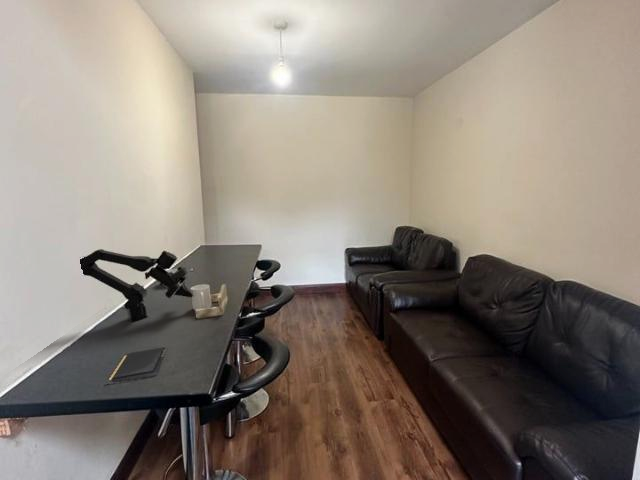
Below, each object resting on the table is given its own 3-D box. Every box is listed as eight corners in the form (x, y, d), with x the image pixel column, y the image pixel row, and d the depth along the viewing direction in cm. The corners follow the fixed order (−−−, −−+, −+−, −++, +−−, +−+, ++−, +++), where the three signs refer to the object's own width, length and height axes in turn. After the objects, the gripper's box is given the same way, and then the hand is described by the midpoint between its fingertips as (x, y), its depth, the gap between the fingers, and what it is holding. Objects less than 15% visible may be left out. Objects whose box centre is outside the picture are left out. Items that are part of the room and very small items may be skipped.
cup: (210, 303, 166) (208, 283, 165) (213, 310, 156) (211, 289, 154) (192, 306, 163) (190, 286, 161) (194, 314, 152) (191, 293, 151)
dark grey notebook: (155, 373, 103) (100, 382, 100) (156, 378, 103) (101, 388, 101) (169, 343, 122) (124, 351, 120) (170, 348, 123) (125, 356, 120)
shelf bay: (196, 318, 148) (193, 301, 147) (203, 302, 168) (201, 286, 167) (223, 314, 150) (221, 297, 149) (227, 299, 170) (225, 284, 169)
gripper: (168, 267, 144) (199, 288, 147) (179, 258, 162) (206, 277, 165) (152, 287, 144) (183, 308, 147) (164, 276, 162) (192, 295, 166)
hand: (192, 296), depth 156 cm, fingers closed
